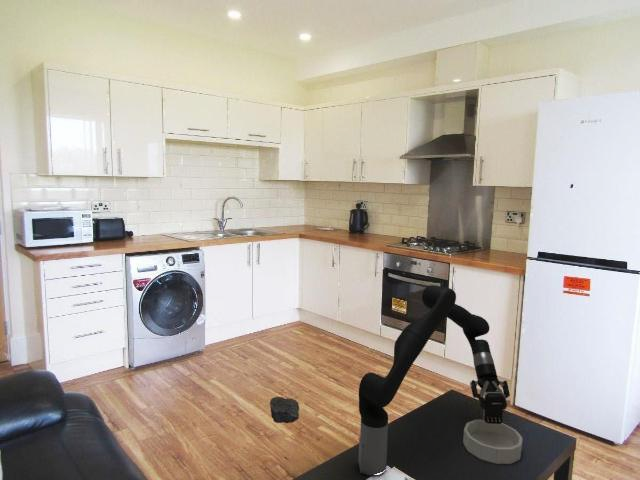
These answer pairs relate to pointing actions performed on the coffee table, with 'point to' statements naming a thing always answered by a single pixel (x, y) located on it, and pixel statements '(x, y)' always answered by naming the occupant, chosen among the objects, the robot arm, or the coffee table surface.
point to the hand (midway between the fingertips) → (494, 408)
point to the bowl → (492, 442)
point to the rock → (284, 410)
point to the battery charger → (494, 407)
